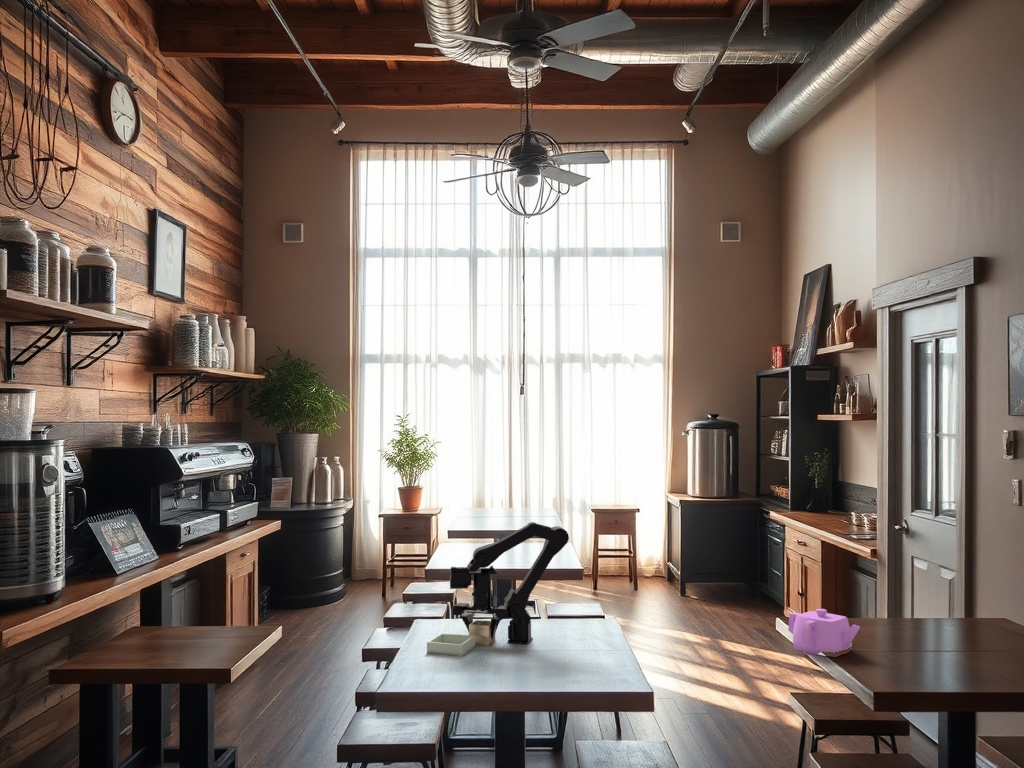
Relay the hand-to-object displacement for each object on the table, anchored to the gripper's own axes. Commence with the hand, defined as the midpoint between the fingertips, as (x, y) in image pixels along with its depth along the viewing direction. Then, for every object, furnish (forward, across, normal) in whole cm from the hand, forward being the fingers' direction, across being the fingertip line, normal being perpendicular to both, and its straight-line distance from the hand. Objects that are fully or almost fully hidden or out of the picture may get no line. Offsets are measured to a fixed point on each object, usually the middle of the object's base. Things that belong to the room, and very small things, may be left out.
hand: (482, 638), depth 257 cm
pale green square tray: (+1, +6, +11) cm, 13 cm away
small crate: (+1, 0, 0) cm, 1 cm away
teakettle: (+2, -102, -22) cm, 104 cm away
